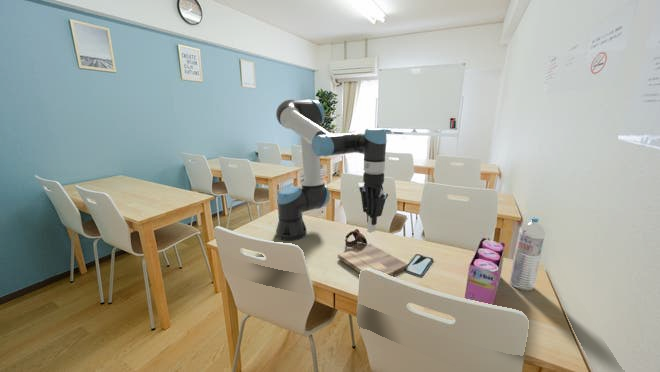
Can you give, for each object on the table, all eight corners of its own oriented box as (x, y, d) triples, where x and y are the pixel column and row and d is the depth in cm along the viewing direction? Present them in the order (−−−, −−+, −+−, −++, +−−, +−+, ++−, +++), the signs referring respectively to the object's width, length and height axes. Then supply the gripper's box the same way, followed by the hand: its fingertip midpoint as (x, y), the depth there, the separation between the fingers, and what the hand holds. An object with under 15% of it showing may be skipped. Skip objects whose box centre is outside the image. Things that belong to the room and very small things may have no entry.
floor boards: (356, 252, 117) (356, 249, 116) (369, 246, 121) (369, 243, 121) (393, 275, 100) (393, 271, 100) (407, 267, 105) (407, 264, 104)
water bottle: (505, 280, 97) (517, 215, 90) (522, 278, 97) (536, 214, 91) (519, 292, 90) (533, 223, 83) (538, 291, 91) (554, 222, 84)
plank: (337, 257, 111) (338, 254, 111) (356, 252, 117) (356, 248, 116) (374, 282, 94) (374, 278, 94) (393, 275, 100) (393, 271, 100)
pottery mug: (370, 252, 118) (362, 239, 114) (350, 259, 120) (342, 247, 117) (367, 234, 128) (360, 221, 125) (350, 240, 131) (342, 229, 127)
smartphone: (402, 270, 103) (416, 253, 114) (402, 272, 103) (416, 255, 114) (421, 277, 98) (434, 258, 110) (421, 279, 99) (434, 260, 110)
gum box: (477, 267, 105) (482, 235, 101) (501, 274, 100) (507, 241, 96) (463, 301, 86) (468, 264, 83) (491, 312, 82) (498, 273, 78)
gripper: (354, 170, 101) (352, 227, 107) (379, 177, 90) (376, 240, 97) (369, 167, 105) (366, 223, 111) (394, 174, 95) (390, 234, 101)
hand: (371, 231), depth 104 cm, fingers closed
